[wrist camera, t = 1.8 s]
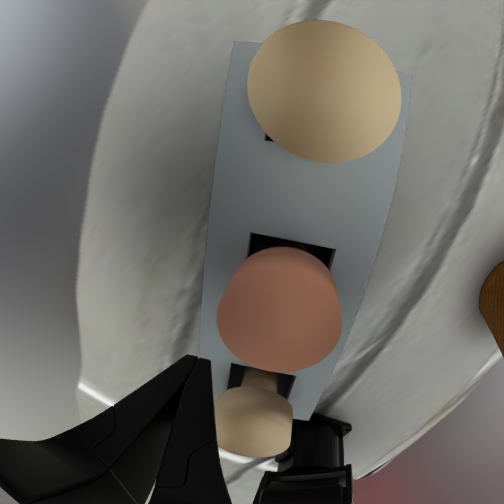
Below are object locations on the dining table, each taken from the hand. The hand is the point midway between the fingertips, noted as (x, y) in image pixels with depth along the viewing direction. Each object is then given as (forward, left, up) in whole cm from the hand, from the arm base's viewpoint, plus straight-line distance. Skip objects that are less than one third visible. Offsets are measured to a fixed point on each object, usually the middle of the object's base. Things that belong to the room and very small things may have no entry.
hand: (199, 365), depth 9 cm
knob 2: (+1, -10, -10) cm, 14 cm away
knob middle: (-2, -1, -10) cm, 11 cm away
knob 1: (-5, +8, -10) cm, 14 cm away
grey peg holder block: (-2, -1, -12) cm, 13 cm away
